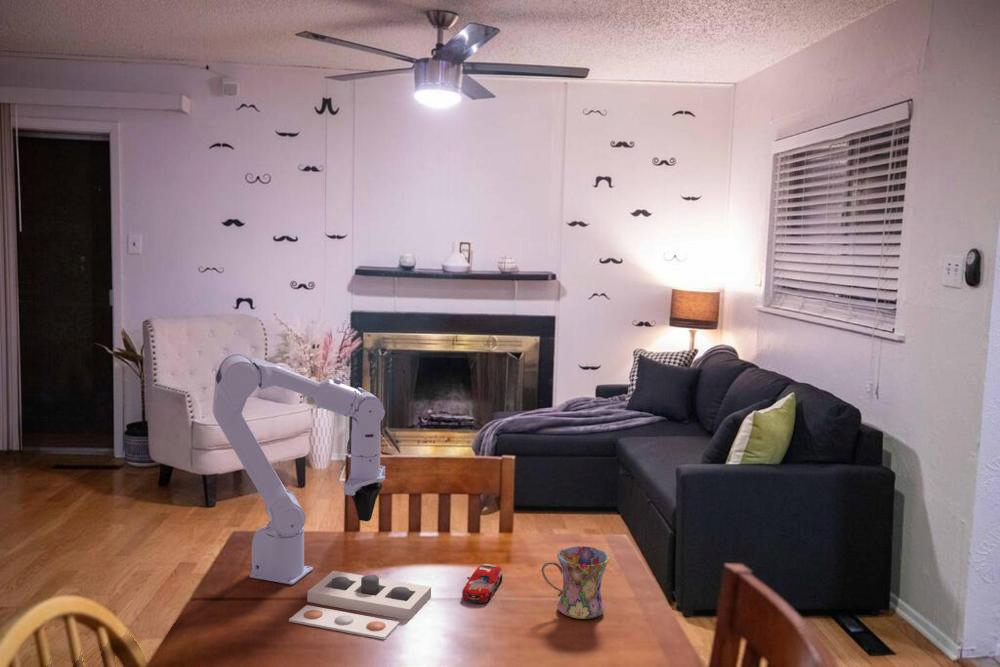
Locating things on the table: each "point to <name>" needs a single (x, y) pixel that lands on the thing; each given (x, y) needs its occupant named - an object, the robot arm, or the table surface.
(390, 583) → the button board
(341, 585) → the button inner
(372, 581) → the button middle
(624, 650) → the table surface
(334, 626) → the pattern card
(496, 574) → the race car
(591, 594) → the mug
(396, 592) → the button outer
